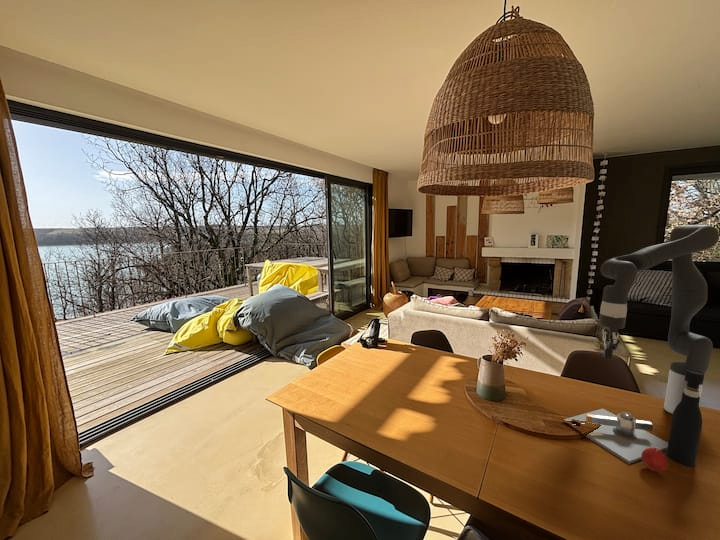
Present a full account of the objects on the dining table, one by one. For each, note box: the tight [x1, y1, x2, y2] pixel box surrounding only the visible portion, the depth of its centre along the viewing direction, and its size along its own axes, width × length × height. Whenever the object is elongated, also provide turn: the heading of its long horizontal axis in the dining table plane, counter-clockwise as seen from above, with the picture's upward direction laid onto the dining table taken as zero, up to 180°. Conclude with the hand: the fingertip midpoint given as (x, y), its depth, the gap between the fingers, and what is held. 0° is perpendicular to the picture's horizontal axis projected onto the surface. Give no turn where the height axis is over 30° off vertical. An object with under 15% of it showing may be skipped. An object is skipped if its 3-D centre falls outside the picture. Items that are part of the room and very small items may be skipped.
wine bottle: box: [666, 369, 705, 468], centre depth 95 cm, size 6×6×30 cm
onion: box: [641, 447, 669, 472], centre depth 92 cm, size 6×6×8 cm
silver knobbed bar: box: [586, 411, 654, 438], centre depth 108 cm, size 20×5×7 cm, turn 77°
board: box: [562, 408, 668, 465], centre depth 109 cm, size 22×22×1 cm
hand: (607, 357), depth 115 cm, fingers closed
